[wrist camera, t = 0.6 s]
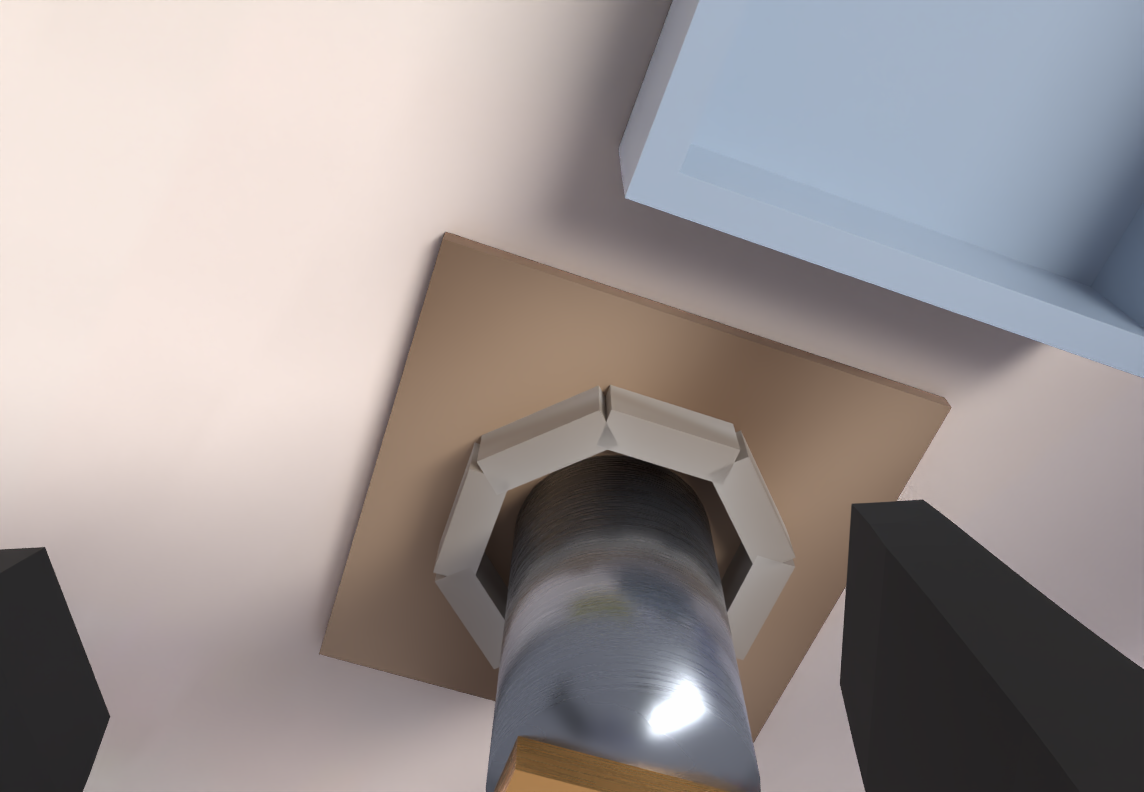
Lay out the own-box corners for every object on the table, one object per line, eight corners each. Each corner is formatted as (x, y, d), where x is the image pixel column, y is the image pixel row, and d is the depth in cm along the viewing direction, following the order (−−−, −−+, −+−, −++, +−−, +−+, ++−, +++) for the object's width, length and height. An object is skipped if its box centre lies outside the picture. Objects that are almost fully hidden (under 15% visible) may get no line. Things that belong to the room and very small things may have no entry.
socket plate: (944, 398, 19) (969, 433, 18) (737, 752, 23) (745, 801, 22) (445, 231, 18) (434, 256, 16) (323, 642, 22) (307, 687, 21)
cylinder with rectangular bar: (742, 489, 19) (815, 768, 13) (667, 637, 21) (701, 946, 15) (550, 430, 19) (533, 692, 13) (490, 587, 21) (448, 886, 14)
